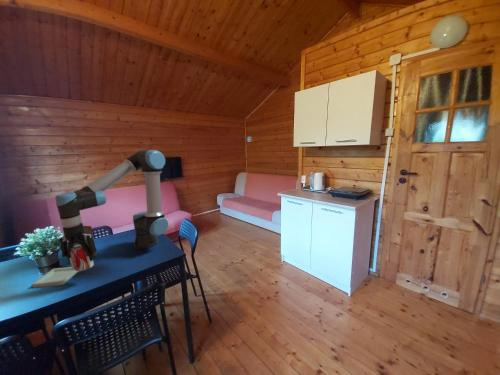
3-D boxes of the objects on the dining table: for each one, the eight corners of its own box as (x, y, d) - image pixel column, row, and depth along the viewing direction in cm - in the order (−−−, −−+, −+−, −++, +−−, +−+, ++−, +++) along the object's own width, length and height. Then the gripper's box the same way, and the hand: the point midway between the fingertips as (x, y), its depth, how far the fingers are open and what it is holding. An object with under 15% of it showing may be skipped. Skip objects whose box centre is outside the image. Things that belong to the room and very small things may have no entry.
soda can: (88, 270, 106) (83, 248, 103) (71, 273, 104) (65, 251, 102) (94, 263, 113) (89, 242, 110) (78, 266, 111) (73, 244, 108)
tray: (81, 269, 122) (80, 265, 121) (63, 284, 108) (62, 281, 108) (54, 271, 120) (53, 268, 120) (32, 288, 107) (31, 284, 106)
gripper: (99, 219, 108) (108, 260, 113) (55, 223, 106) (67, 265, 111) (90, 225, 101) (100, 269, 106) (43, 230, 98) (56, 274, 104)
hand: (83, 267), depth 108 cm, fingers closed on soda can, 7 cm apart
